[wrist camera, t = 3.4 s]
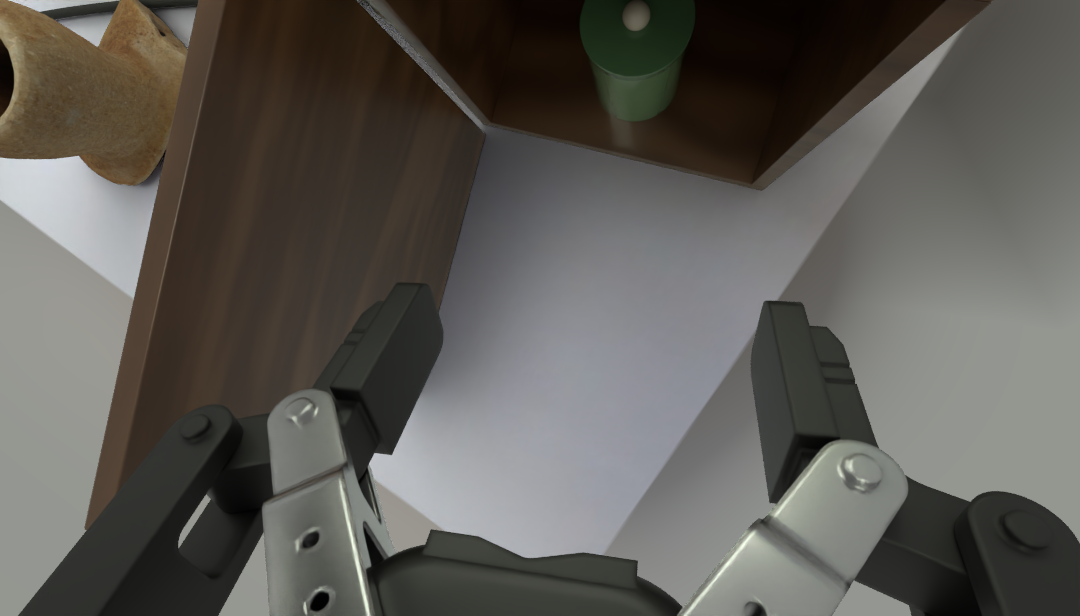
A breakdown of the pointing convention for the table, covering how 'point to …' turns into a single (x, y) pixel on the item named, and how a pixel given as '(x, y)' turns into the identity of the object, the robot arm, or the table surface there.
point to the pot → (636, 52)
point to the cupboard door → (282, 213)
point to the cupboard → (684, 74)
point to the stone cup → (89, 90)
